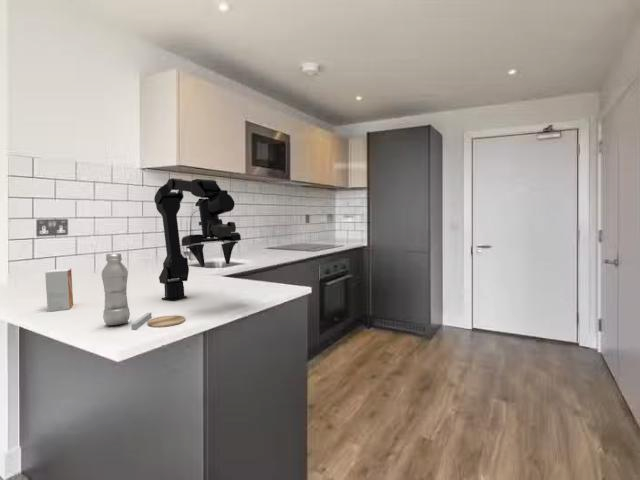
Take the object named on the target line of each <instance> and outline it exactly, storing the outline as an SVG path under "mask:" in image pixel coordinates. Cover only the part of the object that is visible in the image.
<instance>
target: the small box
mask: <svg viewBox="0 0 640 480" xmlns="http://www.w3.org/2000/svg"><path fill="white" fill-rule="evenodd" d="M44 273H45V290H46V306H47V307H46V309H47V312H57V311H64V310H70V309H71V308H72V306H73V305H74V297H73V295H74V294H73V277H72V276H73V275H72V274H73V273H72V268H57V269H49V270H47V271H46V272H44Z"/></svg>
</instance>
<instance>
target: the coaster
mask: <svg viewBox="0 0 640 480" xmlns="http://www.w3.org/2000/svg"><path fill="white" fill-rule="evenodd" d="M185 321H186V317H185V316H183V315H178V314H177V315H176V314H175V315H174V314H173V315H172V314H171V315H162V316H158V317H157V316H156V317H153V318H150V319H149V320H148V321H146V322H147V324H146V325H147V326H149V327H152V328H166V327H174V326H178V325H180V324H182V323H185Z"/></svg>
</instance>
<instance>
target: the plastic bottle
mask: <svg viewBox="0 0 640 480" xmlns="http://www.w3.org/2000/svg"><path fill="white" fill-rule="evenodd" d="M105 257H106V258H105V262H107V263H106V264H105V266H104V267H103V269H102V270H101V280H102V283H103V292H104V309H103V314H102V318H103V322H104V323H105V325H107V326H120V325H123V324H126V323H128V322H129V320H130V317H131V312H130V308H129V304H128V303H129V302H128V296H127V295H128V294H127V291H128V290H127V289H128V285H127V284H128V275H129V271H128V268H127V267H126V266H125V264H123V263H122V261H123V258H122V253H107V254H106V255H105Z"/></svg>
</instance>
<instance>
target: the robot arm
mask: <svg viewBox="0 0 640 480" xmlns="http://www.w3.org/2000/svg"><path fill="white" fill-rule="evenodd" d="M176 191H177V192H176ZM184 192H187V193H189V192H190V194H191V195H193V196H195V197H197V198H198V199H197V201H196V203H195V205H194V206H195V207H198V211H199V218H200V221H198V225H199V226H201V227H200V228H201V234H189V235H185V236H182V238H181V240H180V233H179V223H178V216H177V215H178V212H179V211H180V208H181V202H182V200H183V199H184ZM153 199H154V203H155V205H156V206H155V208H156V210H157V212H158V213H159V214H160V215H161V216H162V225H163V232H164V241H165V250H166V257H165V258H164V260H163V263H162V269H161V272H160V275H159V276H158V280H159V283H160V284H164V297H162V298H161V300H163V301H164V300H166V301H176V300H182V299H186V298H188V295H185V286H184V282H188V279H189V273H190V268H189V267H190V266H189V260H188V258H187V257H185V256H184V255H183V254H182V250H181V249H182V248H181V246H182V247H185V248H186V249H189V251H190V252H191V253H192V255H193V256H194V257H195V259H196V261H197V262H198V264H199V266H200V267H201V268H205V265H206V264H205V257H204V256H205V255H204V250H203V249H204V247H205V246H204V245H205V244H204V243H212V242H222V244H220V245H221V248H222V253H223V258H224V262H225V264H226V265H229V264H230V262H231V257H232V253H233V249H234V247H235V245H236V244H238V243H239V241H241V240H242V236H241V234H240V232H236V230H237V229H236V228H237V227H236V223H235V222H234V221H228V222H227V223H223V220H222V218H220V215H223V214H226V213H229V212H231V211H233V210H234V208H235V200H234V198H233V197H232V196H231V195H230V194H229V193H228V189H227V190H226V189H225V190H224V189H221V187H220V186H219V184H218V182H217V181H216V180H215V179H205V178H204V179H203V178H195V179H192V180H188V179H182V178H169V179H168V180H167V181H166V183H165V184H164V185H162V186H160V187H159V188H158V189H157V192H156V193H155V195H154V198H153Z"/></svg>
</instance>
